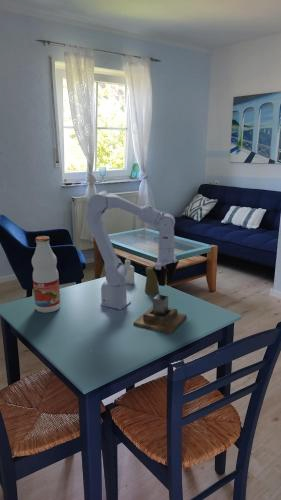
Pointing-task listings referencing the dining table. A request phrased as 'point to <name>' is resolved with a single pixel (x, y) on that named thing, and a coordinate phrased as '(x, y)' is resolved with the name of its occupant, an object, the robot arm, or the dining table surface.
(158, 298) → the metal pin
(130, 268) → the eye dropper bottle
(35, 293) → the fruit juice
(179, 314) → the socket holder
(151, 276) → the cork
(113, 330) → the dining table surface
